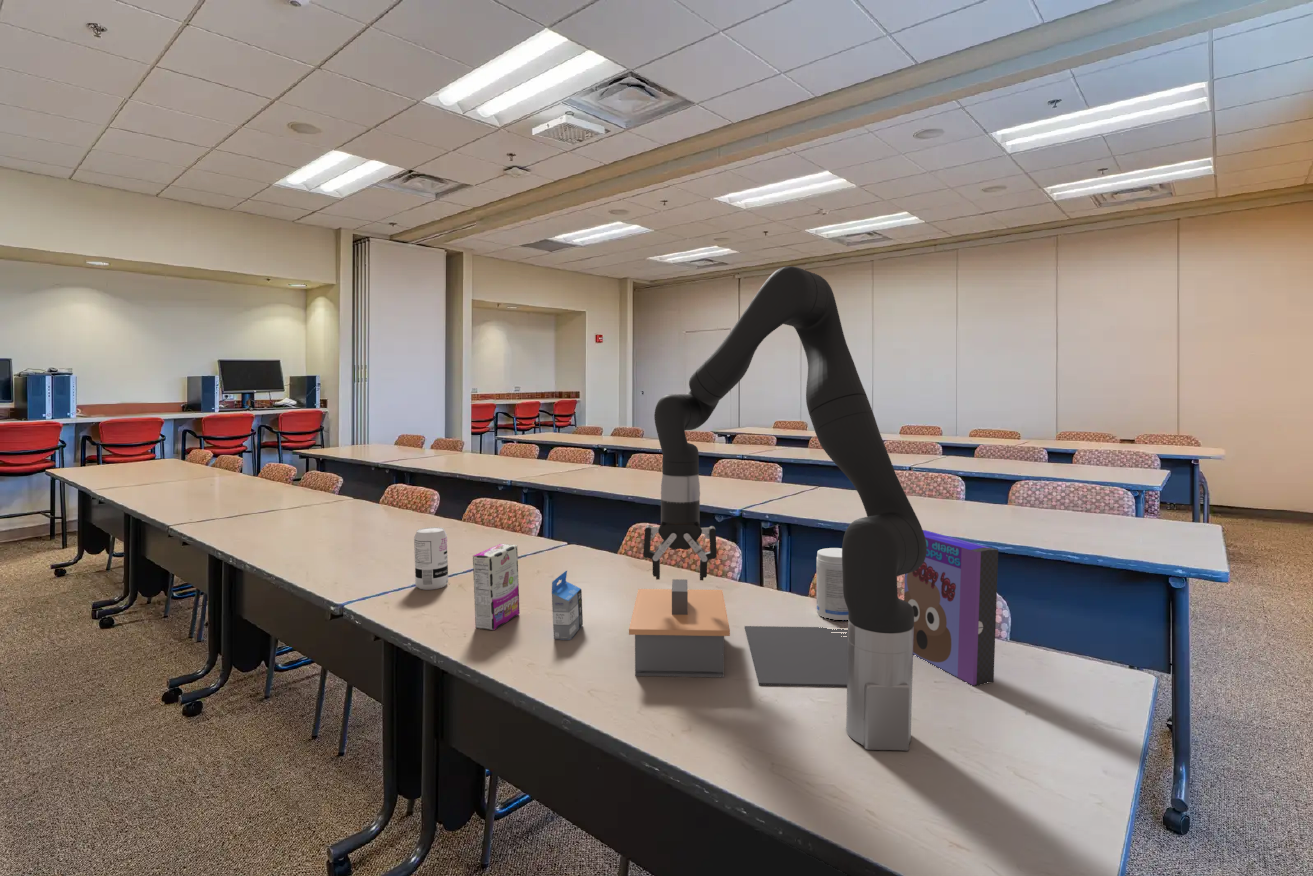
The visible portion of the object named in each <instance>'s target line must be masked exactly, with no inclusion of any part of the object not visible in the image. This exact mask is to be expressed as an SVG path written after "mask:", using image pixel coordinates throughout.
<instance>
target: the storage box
mask: <svg viewBox="0 0 1313 876" xmlns="http://www.w3.org/2000/svg"><path fill="white" fill-rule="evenodd" d="M724 640H725V636H689V635H634V675H635V676H634V677H639V676H640V677H641V676H642V677H679V678H680V677H683V678H685V677H687V678H688V677H689V678H690V677H692V678H693V677H694V678H699V677H700V678H724V676H725V674H724V673H725V672H724V671H725V669H724V668H725V656H724V655H725V641H724Z"/></svg>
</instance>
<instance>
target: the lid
mask: <svg viewBox="0 0 1313 876" xmlns="http://www.w3.org/2000/svg"><path fill="white" fill-rule="evenodd" d="M671 581H672V584H671V588H667V589H666V588H638V590H637V593H636V597H635V602H634V606H633V611H632V615H631V620H630V623H629V629H628V635H629V636H630V635H633V636H635V635H689V636H724V637H730V636H731V628H730V624H729V618H728V613H727V609H726V608H727V607H726V602H725V596H724V591H723V589H689V588H688V587H689V586H688V579H680V578H679V579H674V578H673V579H672V580H671Z"/></svg>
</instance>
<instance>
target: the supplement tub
mask: <svg viewBox="0 0 1313 876" xmlns="http://www.w3.org/2000/svg"><path fill="white" fill-rule="evenodd" d="M816 613H817V615H818V616H820V617H821V616H822V617H821V618H823V617H824V618H823V619H826V618H829V619H828V620H830V619H834V620H848V608H847V605H846V603H845V599H844V594H843V572H842V547H841V548H840V547H829V548H828V547H827V548H822V549H819V550H817V553H816ZM834 620H833V621H834Z"/></svg>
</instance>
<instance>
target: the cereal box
mask: <svg viewBox="0 0 1313 876" xmlns="http://www.w3.org/2000/svg"><path fill="white" fill-rule="evenodd" d="M922 530H923V532H924V535H925V539H926V546H927V552H926V557H925V560H924V562H923V564H922V565H921V567H920V568H918V569H917V570H915V571H913V572H910V573H907V574H904V593H903V597H904V598H903V600H904V601H906V602H908V603H909V604H910V605H911V606H912V607H913V610H914V638H913V656H914V655H916V656H917V657H916V656H915V657H916V658H918V657H919V658H920V659H919V658H918V659H919V660H921V659H923V660H925V661H927V662H928V663H927V662H926V663H927V664H929V663H930V664H929V665H931V664H932V666H933V665H934V666H933V667H935V666H936V667H935V668H937V669H939V668H940V669H942V670H943V671H942V670H941V671H942V672H944V671H945V673H946V674H948V673H949V674H948V675H950V674H951V675H950V676H951V677H954V678H956V679H957V680H960V681H961V680H962V682H964V683H965V682H967V683H968V684H967V683H966V684H967V685H969V684H970V685H969V686H971V685H972V686H971V687H976V686H977V685H978V686H981V685H980V684H982V685H985V684H984V683H987V682H992V683H994V681H995V680H994V677H995V658H996V657H995V652H996V649H995V647H996V629H997V628H996V626H997V625H996V622H997V597H998V596H997V595H998V569H999V568H998V567H999V549H997V548H992V547H989V546H985V545H981V544H978V543H974V542H970V541H967V540H964V539H963V540H962V539H959V538H955V537H953V536H948V535H944V534H941V533H936V532H933V531H929V530H926V529H922ZM923 660H922V661H923ZM925 661H924V662H925ZM940 669H939V670H940ZM987 684H988V683H987Z"/></svg>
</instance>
